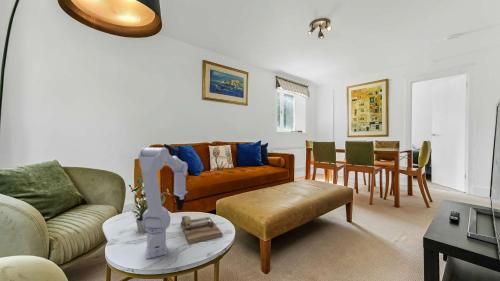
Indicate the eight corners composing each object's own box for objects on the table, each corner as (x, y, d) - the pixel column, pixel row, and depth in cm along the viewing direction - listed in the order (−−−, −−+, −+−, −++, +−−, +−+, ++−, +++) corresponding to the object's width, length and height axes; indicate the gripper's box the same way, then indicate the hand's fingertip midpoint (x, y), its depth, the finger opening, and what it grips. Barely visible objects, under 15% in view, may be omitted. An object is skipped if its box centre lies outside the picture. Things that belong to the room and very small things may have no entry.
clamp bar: (212, 223, 105) (212, 220, 105) (186, 228, 99) (186, 225, 99) (210, 221, 108) (210, 218, 108) (185, 226, 102) (185, 222, 102)
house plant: (149, 238, 95) (149, 204, 95) (121, 237, 96) (121, 203, 95) (163, 225, 110) (163, 195, 109) (138, 224, 110) (138, 195, 110)
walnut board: (221, 236, 98) (221, 226, 98) (188, 244, 91) (188, 233, 90) (209, 220, 117) (209, 212, 117) (180, 225, 110) (180, 216, 110)
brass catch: (191, 223, 100) (191, 219, 100) (186, 224, 99) (186, 220, 99) (189, 220, 105) (189, 216, 105) (184, 221, 104) (184, 217, 104)
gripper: (190, 186, 102) (190, 212, 102) (185, 180, 115) (185, 204, 115) (175, 187, 99) (175, 214, 99) (172, 181, 112) (172, 206, 112)
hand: (179, 209), depth 107 cm, fingers closed
